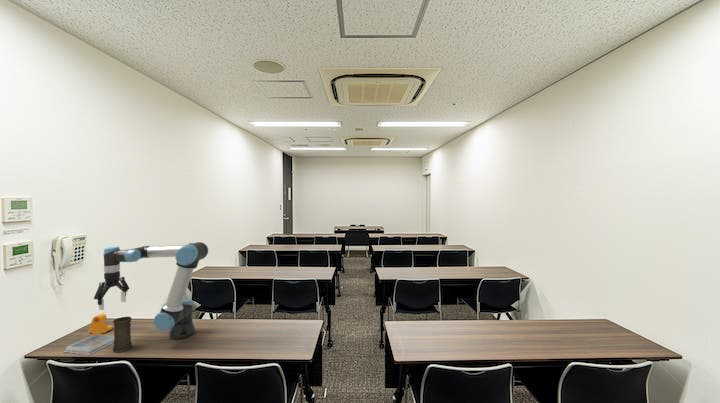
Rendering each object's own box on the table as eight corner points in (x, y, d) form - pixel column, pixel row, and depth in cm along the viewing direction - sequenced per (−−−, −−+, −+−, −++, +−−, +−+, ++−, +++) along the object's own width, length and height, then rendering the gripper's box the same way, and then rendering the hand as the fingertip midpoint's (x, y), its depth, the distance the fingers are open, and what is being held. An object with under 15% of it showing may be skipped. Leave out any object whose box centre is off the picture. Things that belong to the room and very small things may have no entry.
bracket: (113, 329, 202) (113, 312, 202) (104, 334, 195) (104, 316, 195) (97, 329, 202) (97, 312, 202) (88, 334, 194) (88, 316, 194)
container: (121, 353, 170) (121, 322, 170) (108, 351, 172) (108, 321, 172) (135, 345, 179) (135, 316, 179) (123, 344, 181) (123, 315, 181)
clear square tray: (119, 340, 186) (119, 335, 186) (89, 355, 168) (89, 349, 168) (95, 338, 189) (95, 333, 189) (63, 352, 171) (63, 347, 171)
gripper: (126, 267, 194) (126, 298, 194) (85, 276, 169) (85, 313, 169) (135, 267, 193) (136, 299, 193) (96, 277, 168) (96, 313, 168)
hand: (112, 305), depth 181 cm, fingers open, 13 cm apart
